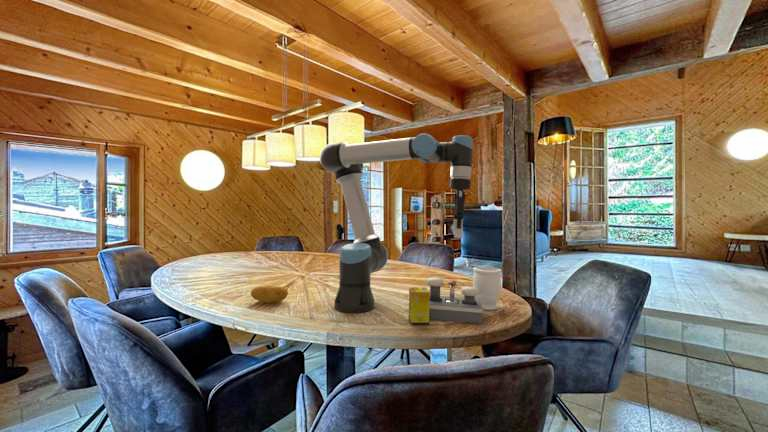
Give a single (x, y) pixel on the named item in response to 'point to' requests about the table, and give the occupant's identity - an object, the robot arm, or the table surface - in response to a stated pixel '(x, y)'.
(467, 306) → the mount
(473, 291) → the knob right
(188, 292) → the table surface
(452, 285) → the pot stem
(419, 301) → the supplement box
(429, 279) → the knob left
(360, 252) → the robot arm
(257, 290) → the potato
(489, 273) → the white tapered cup
